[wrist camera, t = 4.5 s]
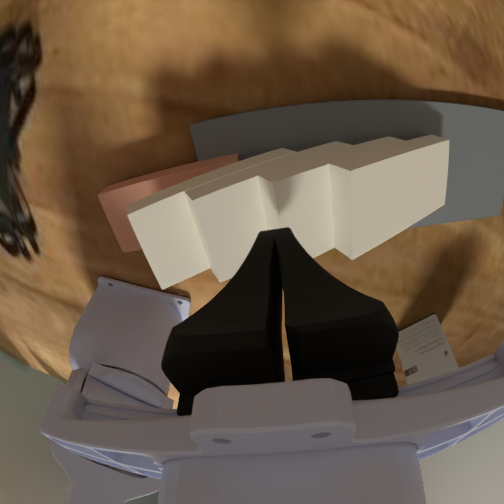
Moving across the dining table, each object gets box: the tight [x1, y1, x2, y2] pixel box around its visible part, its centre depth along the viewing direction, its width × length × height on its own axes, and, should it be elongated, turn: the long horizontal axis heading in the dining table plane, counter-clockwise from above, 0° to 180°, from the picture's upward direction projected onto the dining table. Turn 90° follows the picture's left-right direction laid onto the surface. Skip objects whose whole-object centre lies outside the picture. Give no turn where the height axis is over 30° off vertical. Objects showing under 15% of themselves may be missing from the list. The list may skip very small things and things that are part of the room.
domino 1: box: [126, 148, 296, 290], centre depth 16 cm, size 2×5×10 cm
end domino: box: [97, 153, 240, 253], centre depth 19 cm, size 2×5×10 cm
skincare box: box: [396, 314, 459, 385], centre depth 24 cm, size 6×4×12 cm
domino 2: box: [184, 141, 353, 283], centre depth 16 cm, size 2×5×10 cm
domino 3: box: [257, 136, 405, 258], centre depth 16 cm, size 2×5×10 cm
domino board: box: [189, 99, 504, 228], centre depth 18 cm, size 26×10×1 cm, turn 101°
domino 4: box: [328, 135, 449, 260], centre depth 15 cm, size 2×5×10 cm
